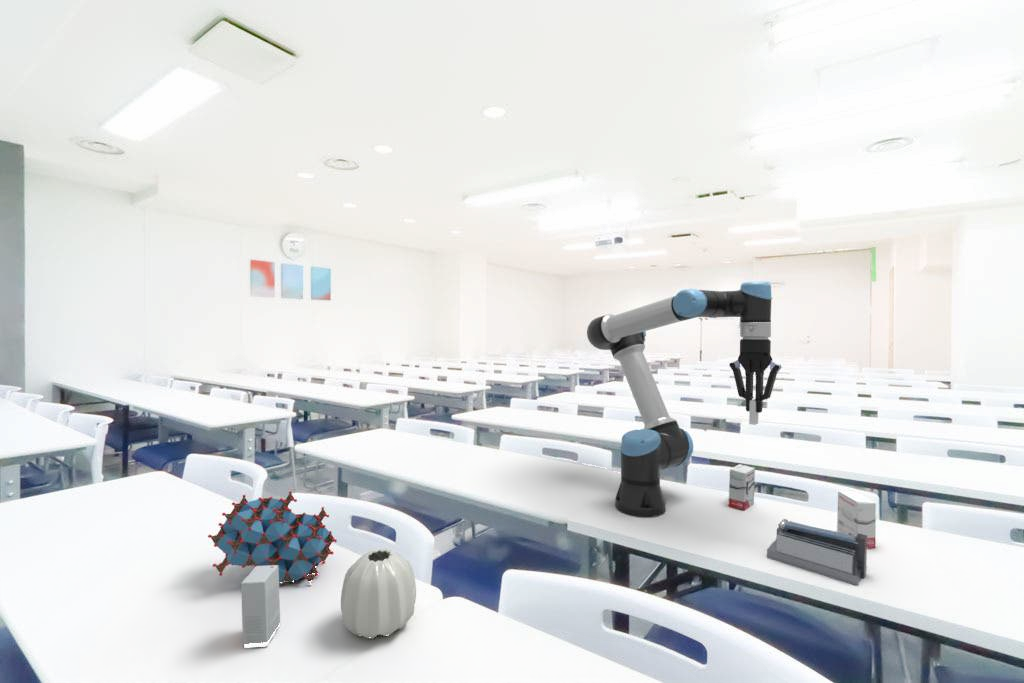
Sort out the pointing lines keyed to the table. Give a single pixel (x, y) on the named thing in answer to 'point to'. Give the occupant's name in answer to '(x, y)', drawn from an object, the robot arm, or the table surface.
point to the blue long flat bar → (816, 531)
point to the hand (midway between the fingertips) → (753, 423)
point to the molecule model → (273, 538)
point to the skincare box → (260, 604)
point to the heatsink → (821, 554)
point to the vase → (378, 594)
